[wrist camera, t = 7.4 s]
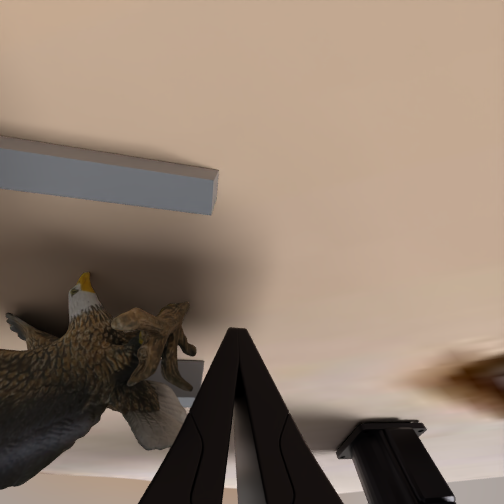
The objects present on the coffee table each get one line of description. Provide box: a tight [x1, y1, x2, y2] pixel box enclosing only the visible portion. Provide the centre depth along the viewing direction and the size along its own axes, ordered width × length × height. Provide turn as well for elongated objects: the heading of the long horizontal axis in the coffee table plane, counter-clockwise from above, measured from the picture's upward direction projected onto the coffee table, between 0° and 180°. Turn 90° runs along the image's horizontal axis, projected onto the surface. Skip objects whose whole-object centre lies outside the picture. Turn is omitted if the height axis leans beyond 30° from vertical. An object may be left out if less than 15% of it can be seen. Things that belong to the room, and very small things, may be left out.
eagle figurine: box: [0, 272, 196, 490], centre depth 8 cm, size 8×7×9 cm
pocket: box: [0, 136, 219, 407], centre depth 8 cm, size 12×13×3 cm
